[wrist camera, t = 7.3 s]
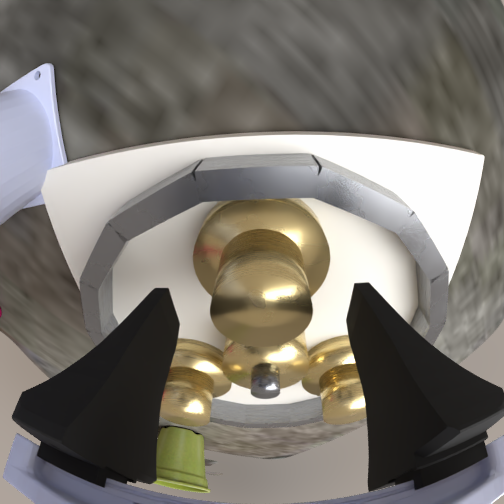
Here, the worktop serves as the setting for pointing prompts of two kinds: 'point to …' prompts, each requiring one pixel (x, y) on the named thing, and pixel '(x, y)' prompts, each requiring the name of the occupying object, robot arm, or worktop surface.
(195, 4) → the worktop surface
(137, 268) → the board
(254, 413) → the ring gear
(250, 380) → the sun and planets
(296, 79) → the worktop surface
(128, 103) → the worktop surface
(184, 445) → the plant pot
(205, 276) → the gear
